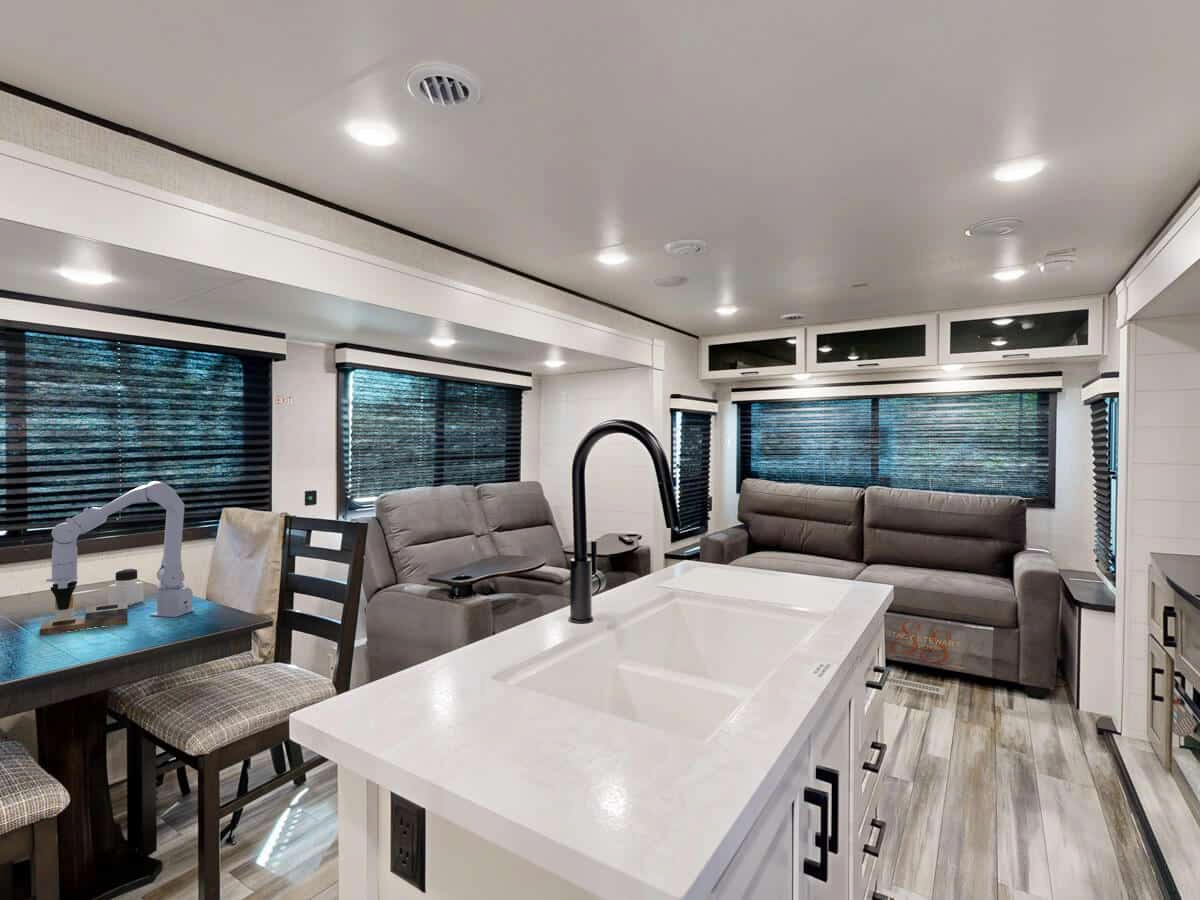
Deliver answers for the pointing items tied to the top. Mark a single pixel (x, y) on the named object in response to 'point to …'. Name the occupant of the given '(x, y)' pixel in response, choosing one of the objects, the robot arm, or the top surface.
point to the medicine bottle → (126, 588)
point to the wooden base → (89, 619)
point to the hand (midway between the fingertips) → (64, 607)
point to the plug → (65, 613)
